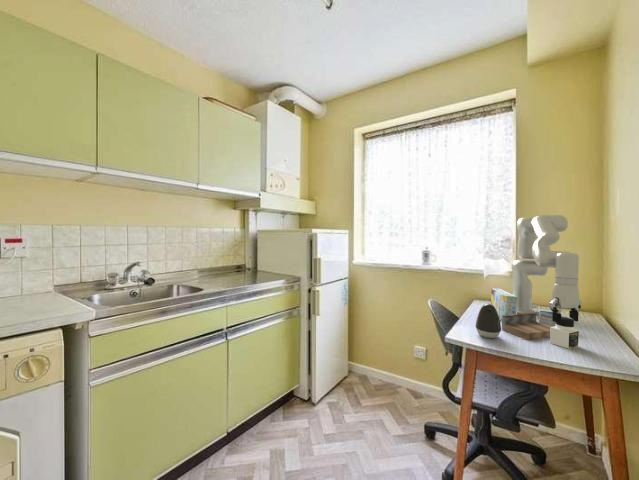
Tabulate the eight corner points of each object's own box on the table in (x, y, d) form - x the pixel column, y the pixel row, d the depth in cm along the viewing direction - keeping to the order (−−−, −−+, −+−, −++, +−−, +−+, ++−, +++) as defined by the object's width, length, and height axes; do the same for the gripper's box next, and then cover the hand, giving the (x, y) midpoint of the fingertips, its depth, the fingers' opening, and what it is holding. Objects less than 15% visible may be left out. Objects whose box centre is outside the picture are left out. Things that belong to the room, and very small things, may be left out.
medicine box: (538, 327, 146) (539, 310, 146) (539, 325, 150) (540, 308, 149) (559, 330, 141) (559, 313, 141) (559, 328, 144) (560, 311, 144)
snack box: (517, 325, 149) (517, 296, 149) (505, 324, 150) (505, 295, 150) (500, 313, 170) (500, 288, 169) (489, 312, 171) (490, 287, 171)
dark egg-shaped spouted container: (477, 338, 130) (477, 305, 130) (474, 331, 140) (474, 300, 139) (503, 342, 127) (504, 307, 126) (498, 334, 136) (499, 302, 136)
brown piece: (533, 326, 147) (533, 312, 147) (561, 335, 134) (562, 320, 134) (501, 329, 142) (502, 315, 142) (527, 339, 129) (528, 323, 129)
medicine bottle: (568, 349, 119) (570, 320, 119) (549, 343, 126) (550, 316, 125) (578, 346, 122) (579, 318, 122) (558, 340, 129) (560, 314, 128)
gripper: (571, 279, 128) (570, 317, 129) (542, 280, 124) (540, 320, 124) (591, 282, 121) (590, 322, 122) (560, 283, 117) (559, 325, 117)
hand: (565, 321), depth 123 cm, fingers open, 9 cm apart
